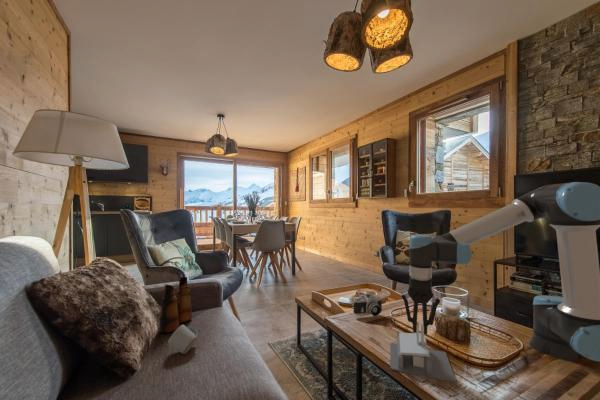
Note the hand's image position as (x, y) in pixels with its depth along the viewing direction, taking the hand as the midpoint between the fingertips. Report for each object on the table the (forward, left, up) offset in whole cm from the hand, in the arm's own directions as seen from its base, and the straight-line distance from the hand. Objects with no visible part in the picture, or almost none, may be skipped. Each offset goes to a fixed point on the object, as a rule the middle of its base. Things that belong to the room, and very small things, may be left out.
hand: (419, 341), depth 94 cm
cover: (+7, 0, -2) cm, 7 cm away
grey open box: (0, 0, -7) cm, 7 cm away
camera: (+20, -34, -8) cm, 41 cm away
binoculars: (+106, +7, -7) cm, 107 cm away
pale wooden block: (+1, 0, -7) cm, 7 cm away
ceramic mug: (+86, +23, -7) cm, 89 cm away
